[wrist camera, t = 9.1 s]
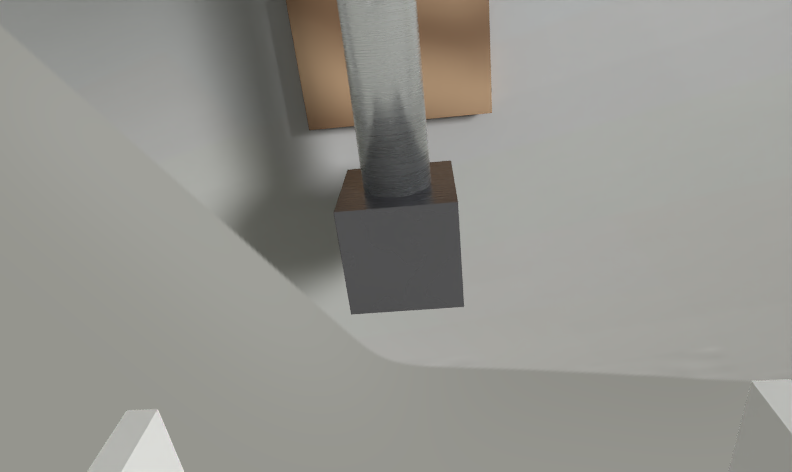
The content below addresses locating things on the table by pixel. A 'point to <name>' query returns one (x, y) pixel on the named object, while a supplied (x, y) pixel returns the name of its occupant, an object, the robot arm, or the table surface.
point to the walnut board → (440, 56)
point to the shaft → (394, 172)
